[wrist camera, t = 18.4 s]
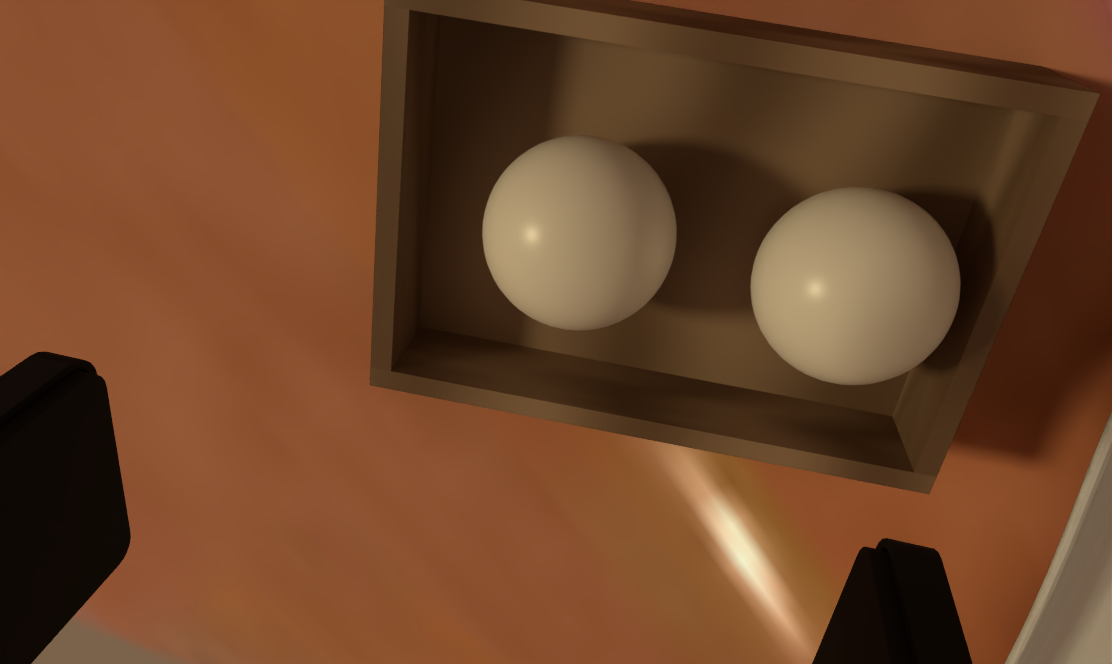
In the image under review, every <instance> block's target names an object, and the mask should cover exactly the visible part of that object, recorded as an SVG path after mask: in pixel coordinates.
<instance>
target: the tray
mask: <svg viewBox="0 0 1112 664" xmlns="http://www.w3.org/2000/svg"><path fill="white" fill-rule="evenodd" d="M1099 96H1100V93H1097V92H1095V91H1093V90H1091V89H1089V88H1087V87H1085V86H1082V85H1080V84H1078V83H1076V82H1074V81H1072V80H1070V79H1067V78H1065V77H1063V76H1061V75H1059V74H1057V73H1055V72H1052V71H1050V70H1048V69H1046V68H1044V67H1041V66H1035V65H1029V64H1023V63H1017V62H1010V61H1004V60H998V59H992V58H985V57H979V56H973V55H967V54H960V53H954V52H948V51H942V50H936V49H929V48H923V47H917V46H911V45H904V44H898V43H892V42H886V41H879V40H873V39H867V38H861V37H855V36H848V35H842V34H836V33H830V32H823V31H817V30H811V29H805V28H798V27H792V26H786V25H780V24H774V23H767V22H761V21H755V20H749V19H742V18H736V17H730V16H724V15H718V14H711V13H705V12H699V11H693V10H686V9H680V8H674V7H668V6H661V5H655V4H649V3H643V2H637V1H630V0H384V24H383V50H382V77H381V103H380V130H379V157H378V183H377V210H376V236H375V263H374V289H373V316H372V343H371V369H370V385H372V386H377V387H382V388H387V389H392V390H397V391H402V392H407V393H413V394H418V395H423V396H428V397H433V398H438V399H443V400H448V401H454V402H459V403H464V404H469V405H474V406H479V407H484V408H489V409H495V410H500V411H505V412H510V413H515V414H520V415H525V416H530V417H536V418H541V419H546V420H551V421H556V422H561V423H566V424H571V425H577V426H582V427H587V428H592V429H597V430H602V431H607V432H612V433H618V434H623V435H628V436H633V437H638V438H643V439H648V440H653V441H659V442H664V443H669V444H674V445H679V446H684V447H689V448H694V449H700V450H705V451H710V452H715V453H720V454H725V455H730V456H735V457H741V458H746V459H751V460H756V461H761V462H766V463H771V464H776V465H782V466H787V467H792V468H797V469H802V470H807V471H812V472H817V473H823V474H828V475H833V476H838V477H843V478H848V479H853V480H858V481H864V482H869V483H874V484H879V485H884V486H889V487H894V488H899V489H905V490H910V491H915V492H920V493H925V494H930V491H931V489H932V486H933V484H934V482H935V479H936V477H937V475H938V472H939V470H940V468H941V465H942V463H943V461H944V458H945V456H946V454H947V451H948V449H949V447H950V444H951V442H952V440H953V437H954V435H955V433H956V430H957V428H958V426H959V423H960V421H961V419H962V416H963V414H964V412H965V409H966V407H967V405H968V402H969V400H970V398H971V395H972V393H973V391H974V388H975V386H976V384H977V381H978V379H979V376H980V374H981V372H982V369H983V367H984V365H985V362H986V360H987V358H988V355H989V353H990V351H991V348H992V346H993V344H994V341H995V339H996V337H997V334H998V332H999V330H1000V327H1001V325H1002V323H1003V320H1004V318H1005V316H1006V313H1007V311H1008V309H1009V306H1010V304H1011V302H1012V299H1013V297H1014V295H1015V292H1016V290H1017V288H1018V285H1019V283H1020V281H1021V278H1022V276H1023V274H1024V271H1025V269H1026V267H1027V264H1028V262H1029V259H1030V257H1031V255H1032V252H1033V250H1034V248H1035V245H1036V243H1037V241H1038V238H1039V236H1040V234H1041V231H1042V229H1043V227H1044V224H1045V222H1046V220H1047V217H1048V215H1049V213H1050V210H1051V208H1052V206H1053V203H1054V201H1055V199H1056V196H1057V194H1058V192H1059V189H1060V187H1061V185H1062V182H1063V180H1064V178H1065V175H1066V173H1067V171H1068V168H1069V166H1070V164H1071V161H1072V159H1073V157H1074V154H1075V152H1076V150H1077V147H1078V145H1079V142H1080V140H1081V138H1082V135H1083V133H1084V131H1085V128H1086V126H1087V124H1088V121H1089V119H1090V117H1091V114H1092V112H1093V110H1094V107H1095V105H1096V103H1097V100H1098V98H1099ZM571 135H590V136H597V137H602V138H605V139H608V140H612V141H615V142H617V143H619V144H621V145H624V146H626V147H627V148H629V149H631V150H632V151H634V152H635V153H637V154H638V155H639V156H640V157H641V158H643V159H644V160H645V161H646V162H647V163H648V164H649V165H650V166H651V167H652V168H653V169H654V170H655V172H656V173H657V174H658V176H659V177H660V179H661V181H662V182H663V184H664V185H665V187H666V189H667V191H668V193H669V196H670V198H671V201H672V205H673V208H674V212H675V218H676V225H677V235H676V247H675V254H674V257H673V261H672V264H671V267H670V269H669V271H668V274H667V276H666V278H665V280H664V281H663V283H662V285H661V287H660V288H659V289H658V291H657V292H656V293H655V295H654V296H653V297H652V298H651V299H650V300H649V301H648V302H647V303H646V304H645V305H644V306H643V307H642V308H641V309H639V310H638V311H637V312H635V313H634V314H632V315H631V316H629V317H628V318H626V319H624V320H622V321H620V322H618V323H615V324H613V325H610V326H607V327H603V328H599V329H593V330H580V331H576V330H565V329H560V328H556V327H551V326H549V325H546V324H543V323H540V322H539V321H537V320H535V319H533V318H531V317H529V316H528V315H526V314H525V313H523V312H522V311H520V310H519V309H518V308H517V307H516V306H514V305H513V304H512V303H511V302H510V301H509V300H508V298H507V297H506V296H505V295H504V294H503V292H502V291H501V290H500V289H499V287H498V285H497V284H496V282H495V280H494V279H493V276H492V274H491V272H490V269H489V267H488V265H487V261H486V258H485V254H484V247H483V238H482V228H483V218H484V213H485V209H486V205H487V202H488V199H489V196H490V194H491V192H492V190H493V187H494V185H495V184H496V182H497V181H498V179H499V178H500V176H501V175H502V173H503V172H504V171H505V170H506V169H507V167H508V166H509V165H510V164H511V163H512V162H513V161H515V160H516V159H517V158H518V157H519V156H520V155H522V154H523V153H525V152H526V151H527V150H529V149H531V148H533V147H534V146H536V145H538V144H540V143H543V142H546V141H548V140H551V139H555V138H559V137H563V136H571ZM845 187H870V188H877V189H882V190H885V191H889V192H892V193H895V194H898V195H900V196H902V197H904V198H906V199H908V200H910V201H912V202H914V203H916V204H917V205H918V206H920V207H921V208H922V209H924V210H925V211H926V212H927V213H928V214H930V215H931V216H932V217H933V218H934V219H935V220H936V222H937V223H938V224H939V225H940V226H941V228H942V229H943V230H944V232H945V234H946V235H947V237H948V238H949V240H950V242H951V245H952V247H953V249H954V252H955V254H956V257H957V261H958V266H959V271H960V282H961V284H960V297H959V303H958V308H957V311H956V314H955V317H954V320H953V322H952V324H951V326H950V328H949V330H948V332H947V334H946V335H945V337H944V339H943V340H942V341H941V343H940V344H939V345H938V347H937V348H936V349H935V350H934V351H933V352H932V353H931V354H930V355H929V356H928V357H927V358H926V359H925V360H924V361H922V362H921V363H920V364H918V365H917V366H915V367H914V368H912V369H911V370H909V371H907V372H905V373H903V374H901V375H899V376H897V377H894V378H891V379H888V380H885V381H882V382H878V383H873V384H867V385H841V384H835V383H830V382H826V381H822V380H819V379H816V378H814V377H811V376H809V375H806V374H804V373H803V372H801V371H799V370H797V369H796V368H794V367H793V366H791V365H790V364H789V363H787V362H786V361H785V360H784V359H782V358H781V357H780V356H779V355H778V353H777V352H776V351H775V350H774V349H773V348H772V347H771V346H770V345H769V343H768V341H767V340H766V338H765V336H764V335H763V333H762V332H761V330H760V328H759V325H758V323H757V320H756V318H755V315H754V311H753V307H752V301H751V288H750V285H751V275H752V270H753V265H754V260H755V257H756V255H757V252H758V250H759V247H760V245H761V243H762V241H763V240H764V238H765V237H766V235H767V233H768V232H769V231H770V229H771V228H772V227H773V226H774V224H775V223H776V222H777V221H778V220H779V219H780V218H781V217H782V216H783V215H784V214H785V213H787V212H788V211H789V210H790V209H791V208H793V207H794V206H796V205H797V204H799V203H800V202H802V201H804V200H806V199H808V198H810V197H811V196H814V195H817V194H819V193H822V192H825V191H829V190H833V189H838V188H845Z"/></svg>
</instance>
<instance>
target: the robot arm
mask: <svg viewBox="0 0 1112 664" xmlns="http://www.w3.org/2000/svg"><path fill="white" fill-rule="evenodd" d="M130 538H131V537H130V527H129V521H128V515H127V509H126V503H125V496H124V490H123V484H122V478H121V472H120V466H119V460H118V454H117V447H116V441H115V435H114V429H113V423H112V417H111V411H110V405H109V398H108V392H107V386H106V383H105V380H104V379H103V378H102V377H101V376H98V375H97V372H96V369H95V367H94V366H93V365H92V364H91V363H90V362H88V361H85V360H81V359H77V358H72V357H68V356H63V355H59V354H54V353H50V352H37V353H35V354H33V355H31V356H29V357H28V358H26V359H25V360H24V361H22V362H21V363H19V364H18V365H16V366H15V367H13V368H12V369H10V370H9V371H8V372H6V373H5V374H3V375H2V376H0V664H31V663H32V662H33V661H34V660H35V659H36V658H37V656H38V655H39V654H40V653H41V652H42V651H43V650H44V649H45V647H46V646H47V645H48V644H49V643H50V642H51V641H52V640H53V638H54V637H55V636H56V635H57V634H58V633H59V632H60V630H61V629H62V628H63V627H64V626H65V625H66V624H67V623H68V622H69V620H70V619H71V618H72V617H73V616H74V615H75V614H76V613H77V611H78V610H79V609H80V608H81V607H82V606H83V605H84V604H85V602H86V601H87V600H88V599H89V598H90V597H91V596H92V595H93V593H94V592H95V591H96V590H97V589H98V588H99V587H100V586H101V584H102V583H103V582H104V581H105V580H106V579H107V578H108V577H109V575H110V574H111V573H112V572H113V571H114V570H115V569H116V568H117V566H118V565H119V564H120V563H121V561H122V560H123V559H124V557H125V555H126V553H127V550H128V547H129V544H130ZM812 664H972V660H971V657H970V654H969V650H968V647H967V643H966V640H965V637H964V633H963V630H962V627H961V623H960V620H959V616H958V613H957V610H956V606H955V603H954V600H953V596H952V593H951V589H950V586H949V583H948V579H947V576H946V573H945V569H944V566H943V562H942V559H941V557H940V555H939V552H938V551H936V550H935V549H933V548H928V547H924V546H919V545H915V544H910V543H906V542H901V541H897V540H892V539H888V538H885V539H882V540H881V541H880V542H879V543H878V545H877V547H876V549H874V548H869V547H862V549H861V550H860V551H859V553H858V555H857V557H856V560H855V562H854V564H853V567H852V569H851V572H850V574H849V576H848V579H847V581H846V584H845V586H844V589H843V591H842V593H841V596H840V598H839V601H838V603H837V605H836V608H835V610H834V613H833V615H832V617H831V620H830V622H829V625H828V627H827V629H826V632H825V634H824V637H823V639H822V641H821V644H820V646H819V649H818V651H817V653H816V656H815V658H814V661H813V663H812Z"/></svg>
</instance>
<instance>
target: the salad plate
mask: <svg viewBox="0 0 1112 664" xmlns="http://www.w3.org/2000/svg"><path fill="white" fill-rule="evenodd" d="M1004 664H1112V412H1111V414H1110V417H1109V419H1108V422H1107V424H1106V426H1105V429H1104V431H1103V434H1102V436H1101V438H1100V441H1099V443H1098V446H1097V448H1096V451H1095V453H1094V455H1093V458H1092V460H1091V463H1090V465H1089V468H1088V470H1087V473H1086V476H1085V478H1084V481H1083V483H1082V486H1081V489H1080V491H1079V494H1078V496H1077V499H1076V501H1075V504H1074V507H1073V509H1072V512H1071V514H1070V517H1069V520H1068V522H1067V525H1066V527H1065V530H1064V532H1063V535H1062V537H1061V540H1060V542H1059V545H1058V547H1057V550H1056V552H1055V555H1054V557H1053V560H1052V562H1051V565H1050V567H1049V569H1048V572H1047V574H1046V577H1045V579H1044V581H1043V584H1042V586H1041V588H1040V590H1039V593H1038V595H1037V597H1036V599H1035V601H1034V604H1033V606H1032V608H1031V610H1030V613H1029V615H1028V617H1027V619H1026V622H1025V624H1024V626H1023V628H1022V630H1021V632H1020V634H1019V636H1018V638H1017V640H1016V642H1015V644H1014V646H1013V648H1012V650H1011V652H1010V654H1009V656H1008V658H1007V660H1006V662H1005V663H1004Z"/></svg>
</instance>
